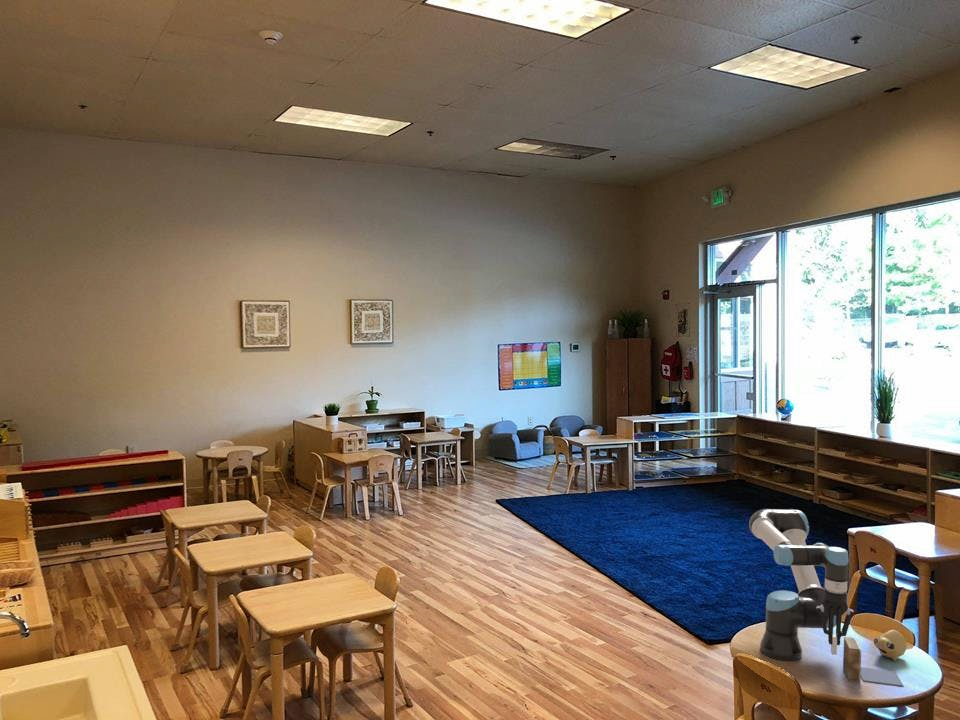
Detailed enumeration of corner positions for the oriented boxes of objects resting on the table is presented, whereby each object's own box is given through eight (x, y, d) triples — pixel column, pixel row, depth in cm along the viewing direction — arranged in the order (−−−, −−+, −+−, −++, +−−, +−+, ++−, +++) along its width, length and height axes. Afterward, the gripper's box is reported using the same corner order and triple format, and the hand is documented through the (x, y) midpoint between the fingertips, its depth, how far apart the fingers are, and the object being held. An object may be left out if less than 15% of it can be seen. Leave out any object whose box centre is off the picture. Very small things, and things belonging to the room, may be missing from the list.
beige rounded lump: (867, 656, 284) (868, 629, 283) (885, 649, 290) (886, 623, 289) (893, 666, 275) (894, 638, 275) (910, 659, 281) (911, 632, 281)
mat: (863, 681, 263) (863, 680, 263) (856, 667, 274) (856, 666, 274) (903, 686, 260) (903, 685, 260) (895, 672, 270) (895, 671, 270)
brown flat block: (848, 680, 264) (849, 648, 263) (843, 668, 273) (844, 636, 273) (860, 682, 263) (861, 649, 262) (854, 669, 272) (855, 638, 272)
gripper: (818, 591, 266) (816, 654, 268) (857, 595, 263) (855, 659, 264) (815, 584, 274) (813, 646, 275) (853, 588, 270) (851, 651, 271)
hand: (833, 652), depth 269 cm, fingers closed
